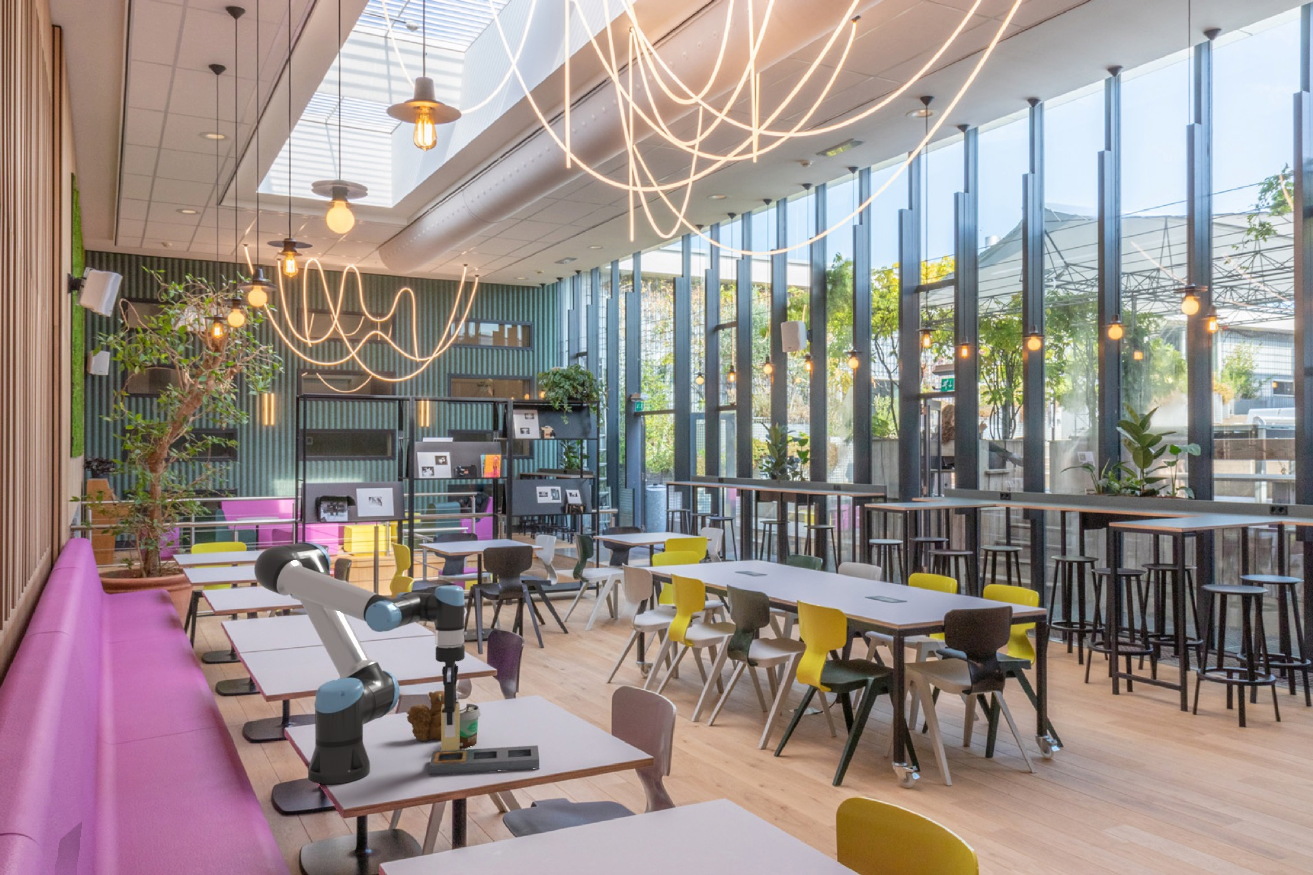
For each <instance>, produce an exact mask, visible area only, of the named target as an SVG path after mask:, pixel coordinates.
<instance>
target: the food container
mask: <svg viewBox="0 0 1313 875" xmlns="http://www.w3.org/2000/svg"><path fill="white" fill-rule="evenodd" d="M481 715H482V714H481V710H480V708H479V705H477V704H473V703H466V707H464V708H463V709H460V747H459V748H464V749H467V748H468V747H469V748H471V747H470V746H472V747H475V746H476V745H477V743H478V742H477V741H478V740H477V739H478V726H479V725H478V724H479V718H480V716H481ZM475 744H476V745H475ZM469 748H468V749H469Z"/></svg>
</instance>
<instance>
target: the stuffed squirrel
mask: <svg viewBox="0 0 1313 875" xmlns="http://www.w3.org/2000/svg"><path fill="white" fill-rule="evenodd" d="M428 697H429V698H430V699H429V700H430V704H431V705H430V708H429V707H428V706H427V705H425V704H418V705H415V706H411V707H410V708H409V711H406V714H407V716H406V718H407V722H408V723H409V724H411V727H412V730H411V732H412V734H413V736H414V737H415V739H417V740H418V741H421V742H427V741H429V740H430V741H431V740H433V739H434V740H435V741H441V707H442V704H444V690H436V691H434V692H433V691H429V692H428Z"/></svg>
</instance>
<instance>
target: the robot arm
mask: <svg viewBox="0 0 1313 875" xmlns="http://www.w3.org/2000/svg"><path fill="white" fill-rule="evenodd" d="M331 565H332V560H331V556H330V555H329V553H328V552H327V550H326V549H325V547H323V546H321V545H320V544H319V543H318V544H317V543H315V542H305V541H301V542H297V543H293V544H284V545H275V546H272V547H268V548H267V549H265V550H264V551H262V552H261V553H260V554H259V555H258V557H257V558H256V561H255V563H254V568H253V569H254V577H255V579H256V581H257V582H258V584H259V585H260V586H262V587H263V588H264V589H266V590H268V591H271V592H272V593H275V594H279V595H281V596H284V597H285V596H289V595H290V597H291V598H292V599H294V600H298V601H299V602H300V603H301V605H302V606H303V609H304V610H305V612H306V614H307V616H308V618H309V620H310V622H311V624H312V625H313V628H314V630H315V631H316V633H317V635H318V637H319V639H320V641H321V643H322V644H323V647H324V648H325V650H326V652H327V653H328V656H329V658H330V659H331V662H332V664H333V666H334V667H335V669H336V671H337V673H338V675H339V678H338V679H332V680H329V681H326V682H325V683H323V684H321V685H320V686H318V688H317V690H316V692H315V699H314V708H315V709H314V711H315V713H314V714H315V716H314V718H315V724H314V725H315V734H314V735H315V746H314V750H313V753H312V756H311V759H310V762H309V765H308V769H307V774H308V775H307V779H308V780H309V781H310V782H312V783H315V784H320V783H321V784H320V785H335V784H336V785H338V784H344V783H350V782H354V781H357V780H360V779H363V778H364V777H366V776H368V775H369V773H371V763H370V759H369V757H368V756H369V755H368V753H367V752H368V751H367V750H366V746H365V745H364V725H365V724H368V723H370V722H372V721H374V720H376V719H381V718H383V717H384V716H386V714H388V713H391V711H393V709H394V708H395V707H396V706H397V704H398V702H399V698H400V691H401V690H400V684H399V681H398V680H397V678H396V676H395V675H394V674H393V673H391V672H389V671H387V670H383V669H382V668H381V666H380V664H379V662H378V661H376V660H372V659H370V658H369V656H368V654H367V653H366V650H365V649H364V646H363V645H362V643H361V642H360V639H359V638H358V636H357V634H356V632H355V630H354V629H353V627H352V624H351V623H350V621H349V619H348V617H347V616H349V617H352V618H355V619H358V620H361V621H363V622H366V624H367V626H368V627H369V629H371V631H373V632H377V633H383V632H390V631H392V630H394V629H398V628H400V627H403V626H407V625H411V624H413V623H417V622H428V623H429V622H431V623H434V624H435V625H434V626H435V629H434V631H435V632H434V637H435V638H434V639H435V640H434V641H435V642H434V643H435V645H436V647H435V661H437V662H440V663H445V664H444V666H442V670H441V674H442V684H443V691H444V710H442V713H444V724H445V737H455V708H454V705H455V703H460V702H459V701H457V700H458V698H457V682H458V673H459V665H457V663H456V662H460V661H463V660H464V659H465V658H466V657H465V656H466V655H465V654H466V653H465V648H466V647H465V645H464V643H465V636H467V635H468V632H467V631H465V604H466V602H465V591H464V588H463V587H462V586H460V585H441V586H437V587H436V588H435V590H434V592H433V593H431V592H430V593H429V592H413V591H408V592H399V593H397V595H396V596H394V597H393V598H392V597H391V598H390V597H387V596H386V595H382V594H379V593H376V592H374V591H371V590H368V589H366V588H363V587H360V586H357V585H355V584H351V583H349V582H346V581H343V580H341V579H337V578H335V577H332V575H331V573H330V572H331V570H332V569H331ZM319 782H320V783H319Z"/></svg>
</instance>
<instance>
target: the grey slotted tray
mask: <svg viewBox="0 0 1313 875" xmlns="http://www.w3.org/2000/svg"><path fill="white" fill-rule="evenodd" d="M539 754H540V753H539V745H522V746H520V745H519V746H507V747H506V746H504V747H490V748H489V747H487V748H486V747H485V748H472V749H471V748H470V749H469V748H468V749H467V748H465V749H459V750H449V751H441V750H435V751H434V750H433V751H432V753H431V758H430V762H429V768H428V770H429V771H428V775H430V776H442V775H457V774H458V775H459V774H462V775H463V774H476V772H479V773H490V772H489V771H496V772H499V771H498V770H512V771H523V770H522V769H529V770H534V769H533V768H539V769H540V755H539Z"/></svg>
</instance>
